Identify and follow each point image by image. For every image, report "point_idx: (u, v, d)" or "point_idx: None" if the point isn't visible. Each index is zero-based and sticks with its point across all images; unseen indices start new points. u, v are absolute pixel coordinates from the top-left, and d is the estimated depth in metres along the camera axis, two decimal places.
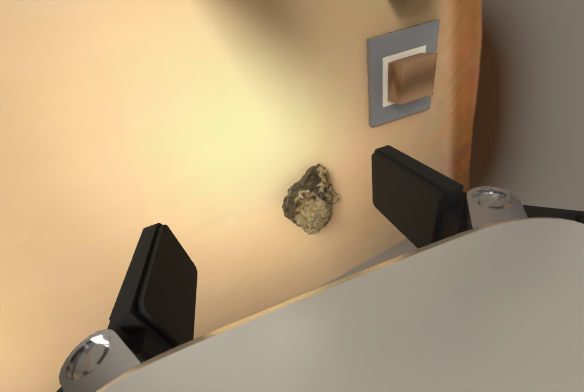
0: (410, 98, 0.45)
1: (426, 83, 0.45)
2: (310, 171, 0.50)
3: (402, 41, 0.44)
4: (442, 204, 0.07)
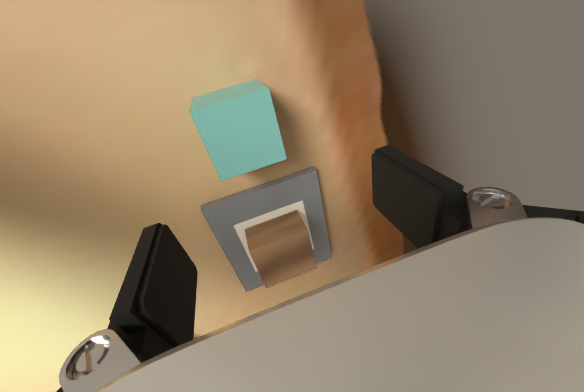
0: (281, 279, 0.30)
1: (302, 260, 0.30)
2: None
3: (261, 203, 0.29)
4: (442, 204, 0.07)
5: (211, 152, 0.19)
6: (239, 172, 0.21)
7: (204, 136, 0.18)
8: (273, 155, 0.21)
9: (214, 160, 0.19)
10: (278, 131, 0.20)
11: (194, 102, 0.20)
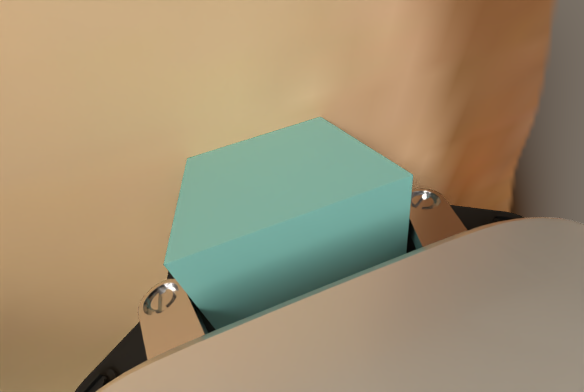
0: None
1: None
2: None
3: None
4: None
5: None
6: None
7: (212, 309, 0.06)
8: None
9: None
10: None
11: (186, 190, 0.08)
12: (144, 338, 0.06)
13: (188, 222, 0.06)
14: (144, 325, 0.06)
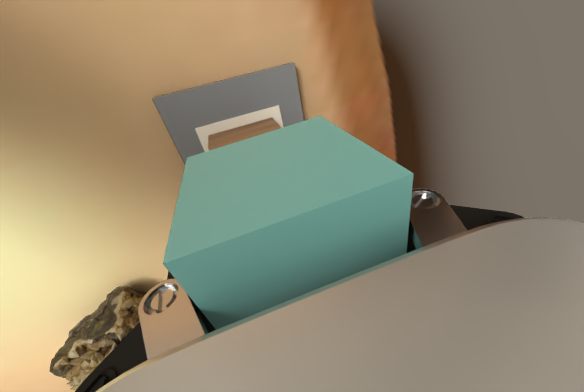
0: None
1: None
2: (107, 300, 0.30)
3: (227, 100, 0.24)
4: None
5: None
6: None
7: (212, 308, 0.06)
8: None
9: None
10: None
11: (186, 189, 0.08)
12: (144, 338, 0.06)
13: (188, 221, 0.06)
14: (144, 325, 0.06)
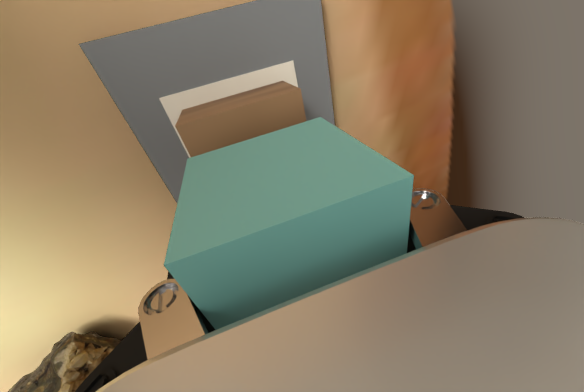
0: None
1: None
2: (52, 354, 0.21)
3: (210, 50, 0.15)
4: None
5: None
6: None
7: (212, 310, 0.06)
8: None
9: None
10: None
11: (187, 190, 0.08)
12: (144, 338, 0.06)
13: (188, 222, 0.06)
14: (144, 325, 0.06)
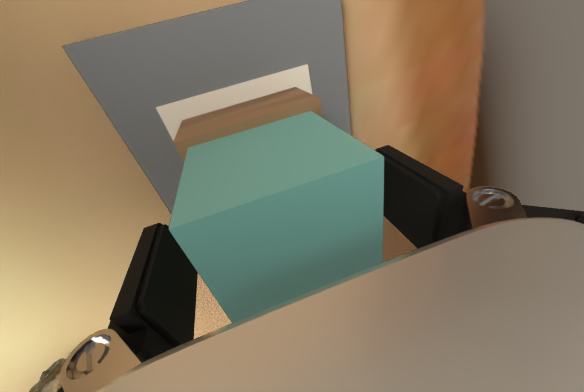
0: None
1: None
2: (39, 384, 0.19)
3: (214, 53, 0.13)
4: (442, 204, 0.07)
5: (226, 300, 0.08)
6: None
7: (210, 274, 0.07)
8: None
9: (232, 312, 0.08)
10: (380, 241, 0.09)
11: (187, 173, 0.08)
12: None
13: (189, 197, 0.07)
14: None
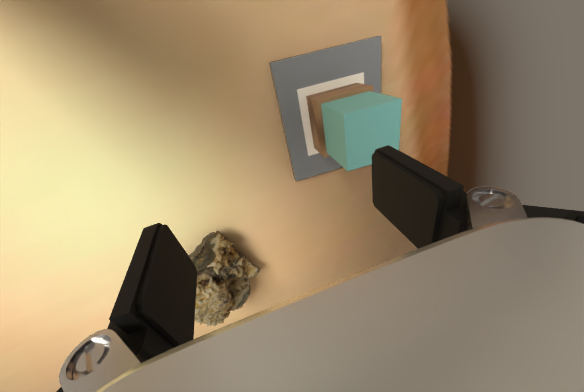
0: None
1: None
2: (205, 241, 0.35)
3: (325, 66, 0.29)
4: (442, 204, 0.07)
5: (348, 147, 0.24)
6: (362, 164, 0.25)
7: (347, 134, 0.23)
8: None
9: (348, 153, 0.24)
10: (398, 133, 0.25)
11: (333, 107, 0.25)
12: None
13: (342, 110, 0.23)
14: None
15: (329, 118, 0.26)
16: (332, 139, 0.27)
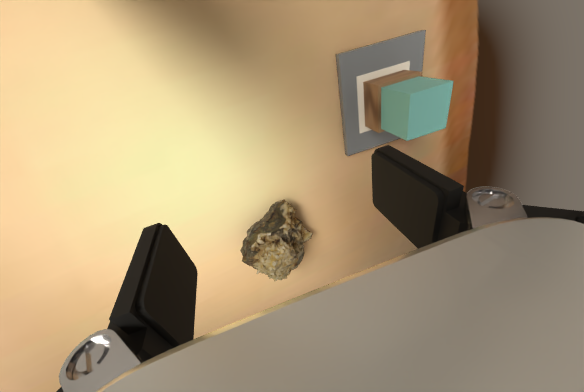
0: None
1: None
2: (273, 209, 0.42)
3: (380, 56, 0.35)
4: (442, 204, 0.07)
5: (410, 120, 0.31)
6: (418, 135, 0.32)
7: (410, 110, 0.30)
8: (439, 124, 0.32)
9: (409, 126, 0.31)
10: (448, 108, 0.31)
11: (395, 90, 0.31)
12: None
13: (406, 91, 0.30)
14: None
15: (391, 98, 0.32)
16: (391, 116, 0.33)
